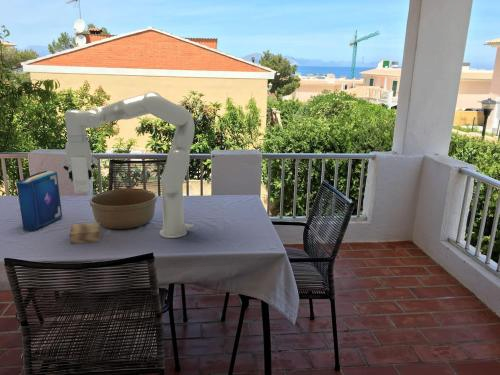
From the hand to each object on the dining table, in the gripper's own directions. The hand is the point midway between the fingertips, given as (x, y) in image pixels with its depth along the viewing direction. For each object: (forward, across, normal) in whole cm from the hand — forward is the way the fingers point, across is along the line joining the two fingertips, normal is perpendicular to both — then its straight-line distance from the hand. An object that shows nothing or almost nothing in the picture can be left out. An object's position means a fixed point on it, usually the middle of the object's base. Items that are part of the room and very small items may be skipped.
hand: (80, 179), depth 179 cm
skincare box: (+5, 0, 0) cm, 5 cm away
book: (+27, +18, -26) cm, 42 cm away
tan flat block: (+28, 0, 0) cm, 28 cm away
